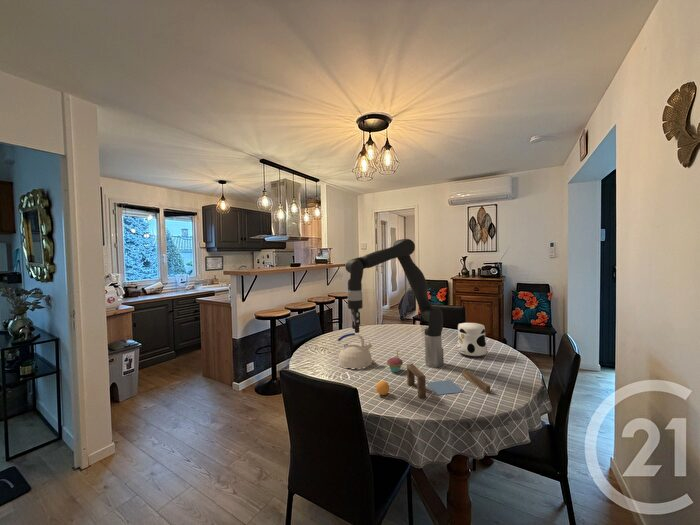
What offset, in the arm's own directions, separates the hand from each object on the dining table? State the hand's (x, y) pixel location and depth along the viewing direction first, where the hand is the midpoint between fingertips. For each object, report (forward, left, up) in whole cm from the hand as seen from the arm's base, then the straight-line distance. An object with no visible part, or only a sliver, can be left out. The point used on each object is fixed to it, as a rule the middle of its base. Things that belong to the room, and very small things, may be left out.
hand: (355, 330), depth 150 cm
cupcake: (-22, -7, -26) cm, 35 cm away
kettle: (-3, -24, -26) cm, 36 cm away
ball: (-8, +18, -23) cm, 30 cm away
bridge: (-24, +18, -26) cm, 40 cm away
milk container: (-76, -20, -26) cm, 83 cm away
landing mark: (-38, +18, -26) cm, 49 cm away
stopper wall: (-54, +18, -26) cm, 63 cm away
